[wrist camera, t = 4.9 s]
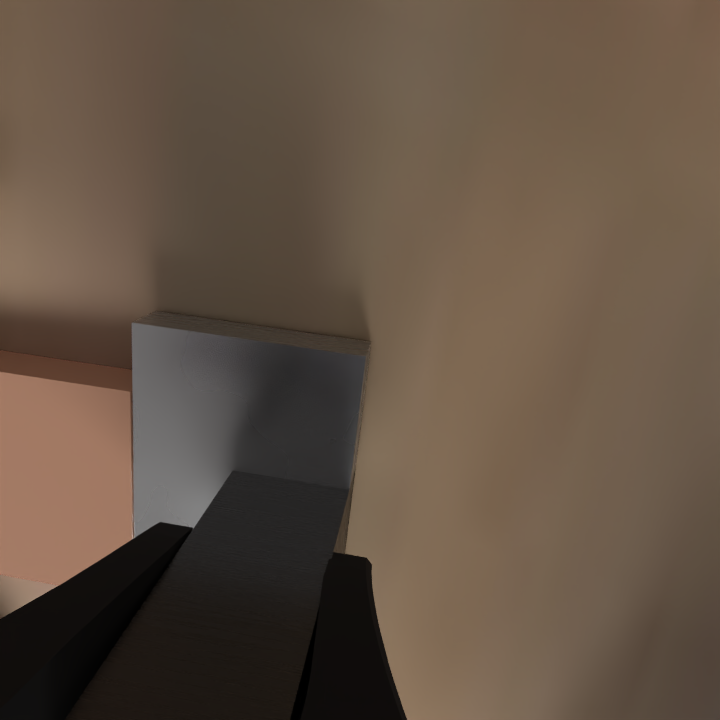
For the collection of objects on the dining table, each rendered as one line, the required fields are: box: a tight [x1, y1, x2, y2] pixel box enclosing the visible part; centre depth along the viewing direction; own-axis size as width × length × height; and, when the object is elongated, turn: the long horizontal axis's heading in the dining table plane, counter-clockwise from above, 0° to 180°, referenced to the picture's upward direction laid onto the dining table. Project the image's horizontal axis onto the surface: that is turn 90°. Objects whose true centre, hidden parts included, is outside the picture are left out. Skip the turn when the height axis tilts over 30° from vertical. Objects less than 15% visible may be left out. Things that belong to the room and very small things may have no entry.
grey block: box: [65, 311, 371, 720], centre depth 10 cm, size 4×8×7 cm, turn 173°
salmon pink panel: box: [0, 350, 134, 585], centre depth 13 cm, size 5×5×2 cm
